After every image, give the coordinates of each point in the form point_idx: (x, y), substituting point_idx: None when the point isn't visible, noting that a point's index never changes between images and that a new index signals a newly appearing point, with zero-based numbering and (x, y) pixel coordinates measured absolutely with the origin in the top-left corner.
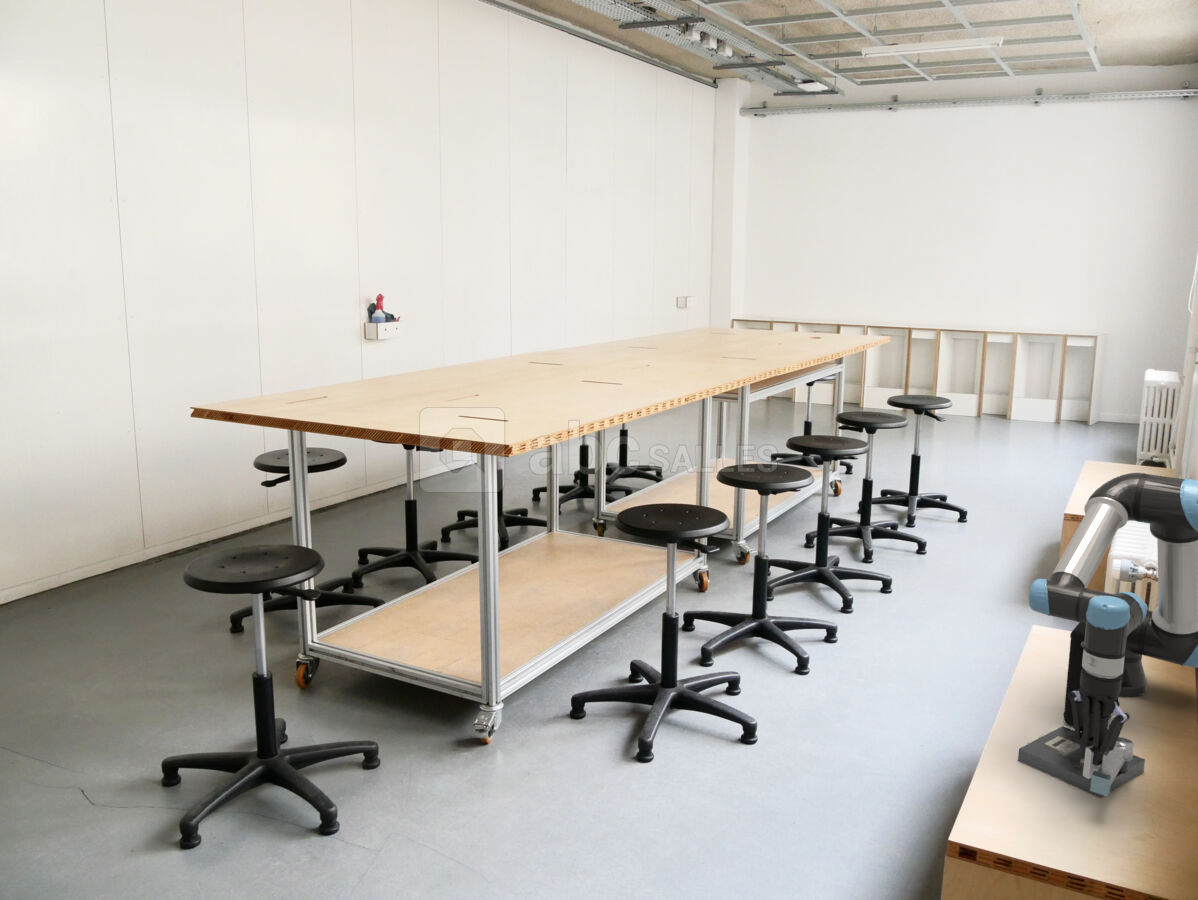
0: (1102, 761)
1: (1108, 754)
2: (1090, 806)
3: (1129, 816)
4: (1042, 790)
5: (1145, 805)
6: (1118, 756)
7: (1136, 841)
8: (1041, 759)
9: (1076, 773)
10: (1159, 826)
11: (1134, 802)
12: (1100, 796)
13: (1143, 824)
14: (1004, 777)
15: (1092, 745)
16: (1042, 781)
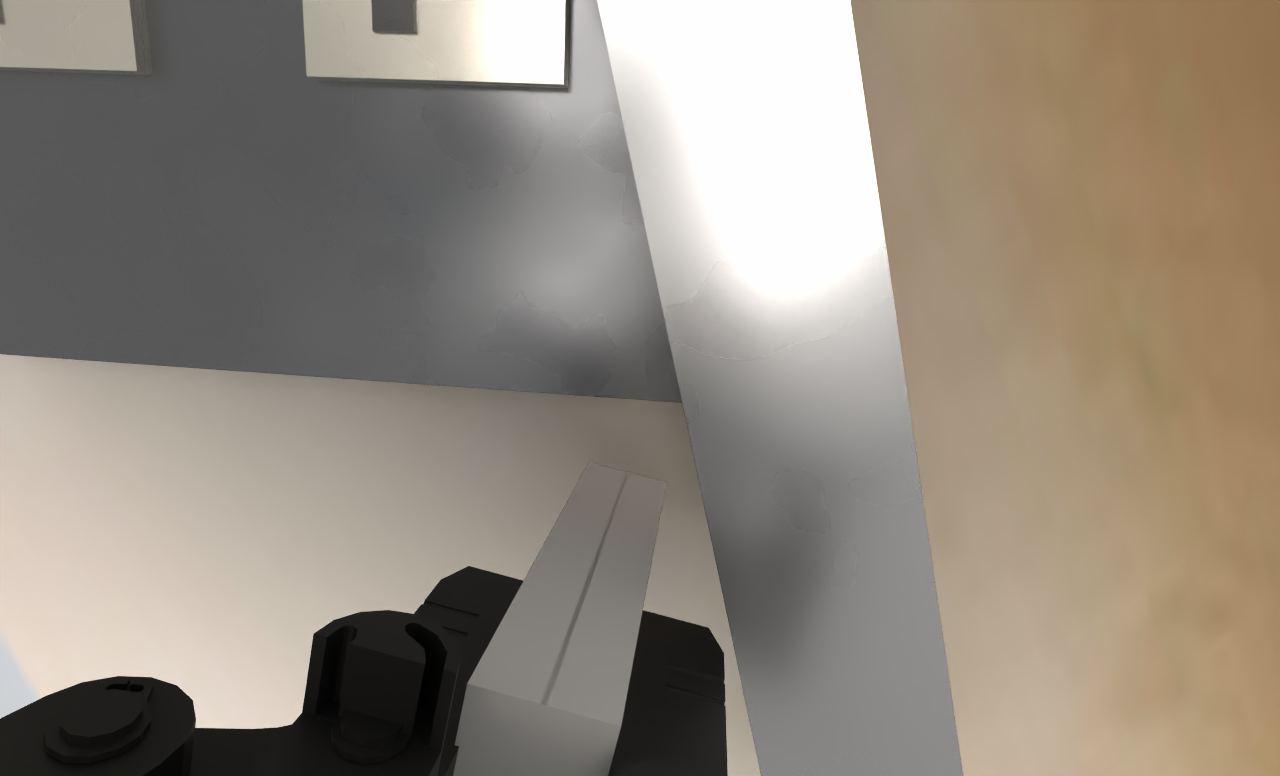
0: (723, 663)
1: (691, 386)
2: (706, 544)
3: (983, 459)
4: (372, 592)
5: (1026, 176)
6: (849, 312)
7: (1141, 744)
8: (104, 360)
9: (437, 372)
10: (1226, 423)
11: (934, 205)
12: None
13: (1110, 491)
14: (123, 624)
15: (456, 763)
16: (297, 475)
